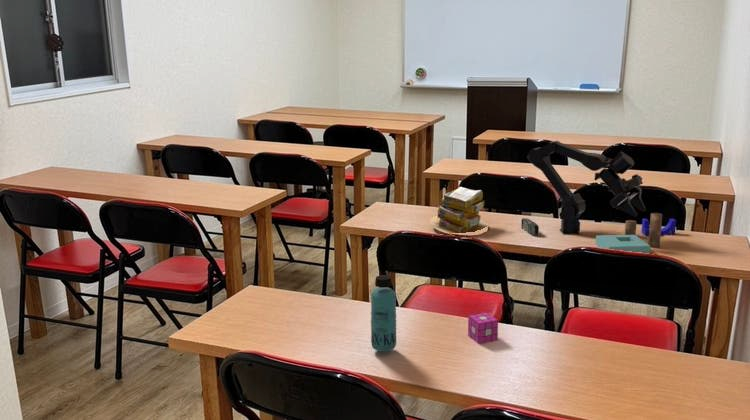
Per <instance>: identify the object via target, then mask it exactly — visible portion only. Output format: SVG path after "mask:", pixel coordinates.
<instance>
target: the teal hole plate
mask: <svg viewBox="0 0 750 420" xmlns="http://www.w3.org/2000/svg"><path fill="white" fill-rule="evenodd" d="M595 245H596V246H597V247H598V248H599V247H601V248H606V249H614V250H623V251H632V252H642V253H650V254H651V247H650V245H648V243H647V242H646V241H644V240H643V239H642V238H640V237H639V236H638V235H637V234H636V235H625V234H609V235H608V234H606V235H605V234H604V235H595Z"/></svg>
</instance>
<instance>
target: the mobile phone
mask: <svg viewBox="0 0 750 420" xmlns="http://www.w3.org/2000/svg"><path fill="white" fill-rule="evenodd" d="M520 224H521V229H522V230H523V229H524V230H523V231H525V232H526V231H527V232H526V233H527V234H528V235H530V234H531V236H536V237H537V238H541V235H540V234H539V233H540V231H539V229H540V227H539V225H538V223H536V222H534V221H532V220H531V219H529V218H521V223H520Z"/></svg>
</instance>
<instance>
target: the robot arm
mask: <svg viewBox="0 0 750 420" xmlns="http://www.w3.org/2000/svg"><path fill="white" fill-rule="evenodd" d="M554 153H555V154H559V155H561V156H564V157H566V158H568V159H572V160H574V161H577V162H579V163H580V164H582V165H583V166H584V167H585V168H586V169H588V170H590V171H592V172H595V173H594V181H598V180H599V179H601V181H602V182H603V183H604V184H605V186H606V187H608V188H607V191H608V192H611V193H612V194H613V195H614V197H613V198H612V199H610V201H609V205H610V206H611V207H612V208H613V209H616V210H620V211H623V212H624V213H626V214H629V215H631V216H632V217H635V218H636V217H638V213H637V211H636V210H635V208H637V209H638V210H640V211H641V212H644V213H645V212H646V211H647V209H646V206H645V204H644V202H643V199H642V193H643V192H642V191H643V188H642V187H641V185H643V181H642V180H643V177H642V176H641V175H639V174H638V173H637V174H634V175H632V176H631V178H630V179H625V178H624V177H623V178H622V177H620V175H623V174H625V173H626V172H627V171H628V170H629V169H631V168H632V167H633V166H634V165H635V161H634V159H633V158H632V157H631V156H629V155H628V154H626V153H625V152H623V151H619V153H617V155H615V156H614V157H613V159H612V158H609V157H606V156H605V154H602V153H597V152H588V151H584V150H581V149H578V148H576V147H573V146H571V145H567V144H565V143H562V142H561V141H559V140H555V141H554V140H553V141H551V142H549V143H548V144H545V145H542V146H541V147H536V148H532V149H530V150H529V151H528V153H527V160H528V161H529V162H530V163H531V164H532V165H533V166H534V167H535V168H537V169H538V170H540V171H541V172H542V174H543V175H544V177H545V178H546V180H548V182H549V183H550V185H551V186H552V187H553V189H554V190H555V191H556V193H557V194H558V195H559V196H558V197H560V199H561V201H562V202H561V203H562V207H563V210H562V211H561V212H560V213H559V218H560V223H561V225H560V228H559V232H561V233H562V234H563V235H580V234H581V232H580V231H581V230H580V229H581V221H580V216H581V214H582V213H583V212H585V211H586V200H585V199H583V198H582V196H581V194H580V193H576V194H575V193H573V192H572V191H571V189H570V187H568V185H567V184H566V182H565V181H564V179H563V178H562V177H561V175H560V174H559V172H558V171H557V169H555V167H554V165H553V164H552V162H551V157H550V155H552V154H554ZM606 167H608V168H606ZM599 170H600V171H599ZM596 171H599V172H596ZM634 207H635V208H634Z"/></svg>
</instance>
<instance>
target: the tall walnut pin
mask: <svg viewBox="0 0 750 420" xmlns="http://www.w3.org/2000/svg"><path fill="white" fill-rule="evenodd" d="M649 220H650V221H649V225H650V228H649V236H648V243H647V244H648V245H650V249H651V248H652V249H659V248H661V247H660V246H661V236H662V235H661V229H662V225H663V224H662V222H663V214H662V213H659V212H651V213H650V218H649Z"/></svg>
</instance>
